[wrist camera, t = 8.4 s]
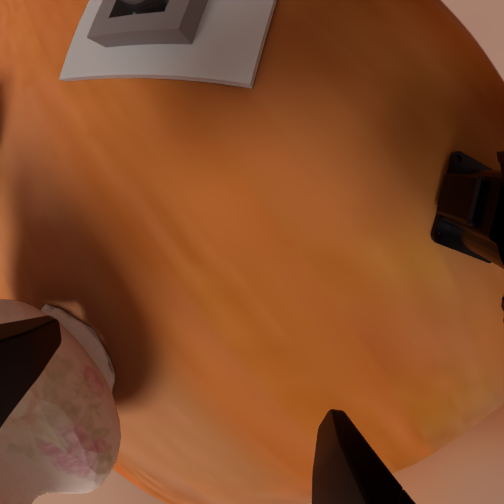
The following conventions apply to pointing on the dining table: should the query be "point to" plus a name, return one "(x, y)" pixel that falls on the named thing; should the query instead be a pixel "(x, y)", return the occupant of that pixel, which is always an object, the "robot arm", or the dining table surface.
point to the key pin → (146, 5)
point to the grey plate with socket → (171, 41)
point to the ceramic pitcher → (60, 416)
